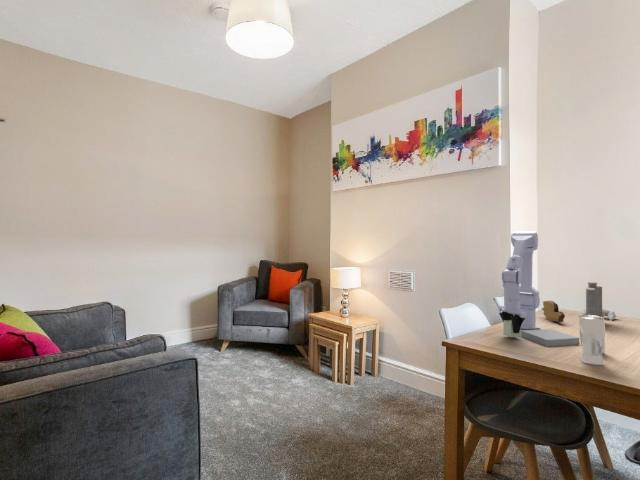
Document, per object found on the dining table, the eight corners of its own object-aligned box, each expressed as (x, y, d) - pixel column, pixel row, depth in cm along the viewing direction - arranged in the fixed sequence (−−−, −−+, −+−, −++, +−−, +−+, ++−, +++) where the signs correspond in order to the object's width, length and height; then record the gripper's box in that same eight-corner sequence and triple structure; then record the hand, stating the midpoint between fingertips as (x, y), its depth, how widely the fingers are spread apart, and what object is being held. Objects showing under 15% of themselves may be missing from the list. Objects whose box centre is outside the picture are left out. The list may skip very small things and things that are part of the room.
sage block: (503, 334, 152) (503, 320, 152) (513, 333, 153) (513, 319, 153) (510, 337, 148) (510, 322, 148) (520, 336, 148) (520, 322, 148)
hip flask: (593, 328, 163) (593, 284, 163) (582, 326, 166) (582, 283, 166) (603, 322, 174) (602, 281, 173) (592, 321, 177) (592, 280, 177)
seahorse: (599, 322, 170) (621, 312, 179) (574, 310, 180) (596, 301, 188) (596, 331, 172) (618, 321, 181) (571, 319, 182) (593, 309, 190)
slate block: (521, 337, 152) (521, 330, 152) (550, 335, 154) (550, 328, 154) (547, 347, 138) (547, 339, 138) (579, 345, 140) (579, 337, 140)
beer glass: (573, 359, 124) (573, 315, 124) (593, 358, 124) (592, 314, 124) (590, 366, 117) (590, 319, 117) (610, 365, 117) (610, 319, 117)
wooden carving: (569, 325, 170) (568, 303, 170) (559, 325, 170) (559, 304, 170) (547, 317, 186) (547, 298, 186) (538, 317, 186) (538, 298, 186)
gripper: (491, 296, 157) (492, 327, 157) (515, 302, 142) (515, 336, 142) (506, 295, 158) (506, 326, 158) (531, 301, 143) (531, 335, 144)
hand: (512, 331), depth 150 cm, fingers closed on sage block, 4 cm apart
